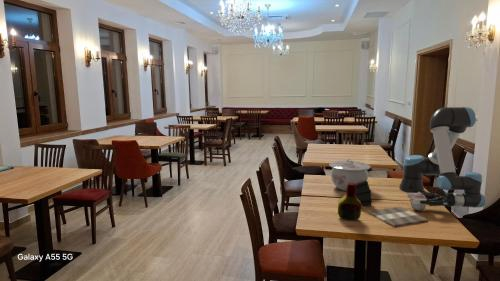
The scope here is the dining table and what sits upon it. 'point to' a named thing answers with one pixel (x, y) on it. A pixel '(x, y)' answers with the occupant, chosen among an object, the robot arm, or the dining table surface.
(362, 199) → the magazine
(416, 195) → the cupcake
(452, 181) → the robot arm
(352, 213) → the bottle
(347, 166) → the chamber pot
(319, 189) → the dining table surface
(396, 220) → the checkered cloth napkin
